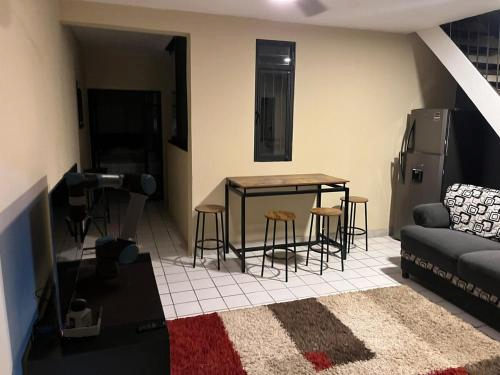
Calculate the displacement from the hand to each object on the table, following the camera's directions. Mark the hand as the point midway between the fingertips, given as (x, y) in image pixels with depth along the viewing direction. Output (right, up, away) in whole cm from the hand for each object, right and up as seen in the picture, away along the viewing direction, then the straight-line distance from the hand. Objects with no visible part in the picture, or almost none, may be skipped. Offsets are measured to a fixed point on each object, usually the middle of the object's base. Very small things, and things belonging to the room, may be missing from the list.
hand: (79, 248), depth 201 cm
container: (+9, -33, -20) cm, 40 cm away
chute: (+9, -33, -16) cm, 37 cm away
